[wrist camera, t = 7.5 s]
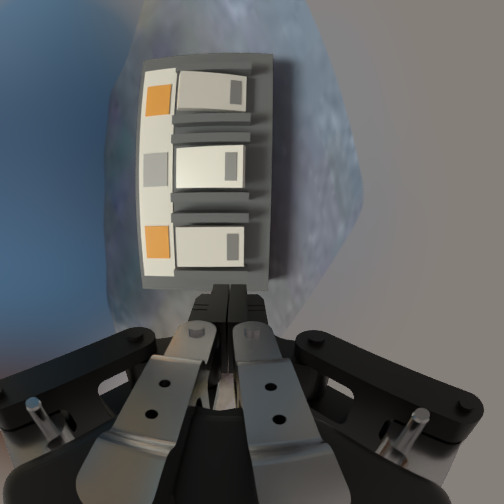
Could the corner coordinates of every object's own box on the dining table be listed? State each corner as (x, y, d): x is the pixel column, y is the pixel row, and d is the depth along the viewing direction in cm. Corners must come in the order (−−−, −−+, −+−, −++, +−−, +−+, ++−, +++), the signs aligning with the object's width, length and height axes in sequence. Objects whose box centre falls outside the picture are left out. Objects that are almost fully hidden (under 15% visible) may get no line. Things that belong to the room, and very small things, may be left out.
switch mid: (181, 149, 23) (176, 148, 22) (245, 146, 22) (243, 144, 21) (180, 187, 24) (175, 188, 23) (244, 187, 23) (242, 187, 22)
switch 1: (179, 74, 20) (181, 70, 19) (242, 79, 22) (246, 76, 21) (176, 110, 21) (178, 107, 20) (241, 113, 23) (245, 111, 22)
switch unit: (151, 70, 23) (137, 53, 19) (269, 65, 24) (275, 45, 19) (151, 278, 30) (136, 296, 25) (265, 280, 30) (269, 299, 25)
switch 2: (177, 225, 24) (175, 227, 23) (243, 225, 25) (244, 226, 24) (179, 263, 25) (177, 267, 24) (242, 263, 26) (243, 266, 25)
